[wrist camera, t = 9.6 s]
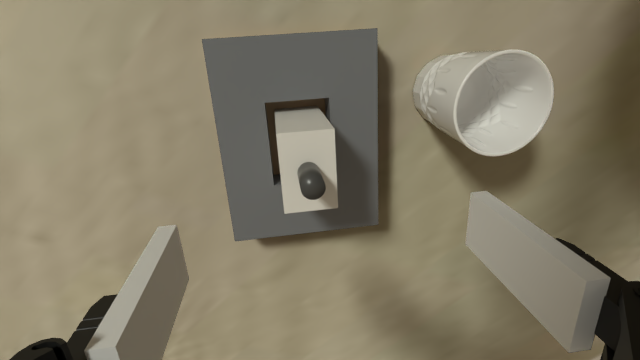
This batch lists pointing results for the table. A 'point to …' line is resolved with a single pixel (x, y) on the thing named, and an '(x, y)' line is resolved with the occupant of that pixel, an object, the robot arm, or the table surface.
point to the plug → (306, 159)
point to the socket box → (288, 92)
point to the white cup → (486, 98)
